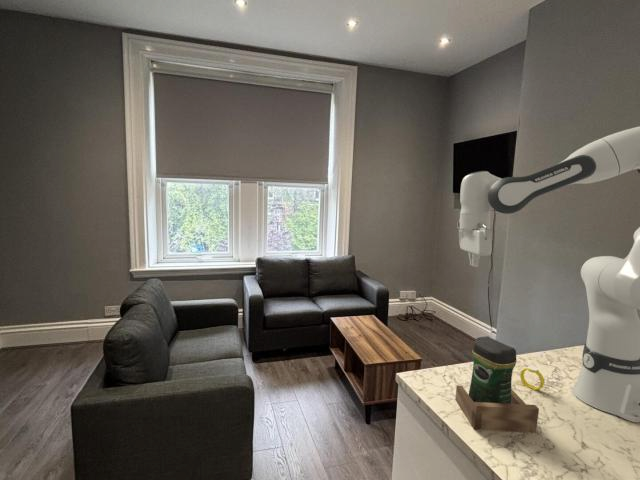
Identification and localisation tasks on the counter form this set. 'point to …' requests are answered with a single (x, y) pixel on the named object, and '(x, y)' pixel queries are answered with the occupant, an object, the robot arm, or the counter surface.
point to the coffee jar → (492, 371)
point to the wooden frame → (498, 413)
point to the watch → (535, 370)
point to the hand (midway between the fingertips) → (474, 266)
